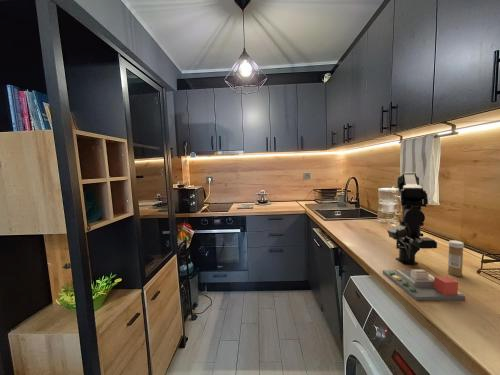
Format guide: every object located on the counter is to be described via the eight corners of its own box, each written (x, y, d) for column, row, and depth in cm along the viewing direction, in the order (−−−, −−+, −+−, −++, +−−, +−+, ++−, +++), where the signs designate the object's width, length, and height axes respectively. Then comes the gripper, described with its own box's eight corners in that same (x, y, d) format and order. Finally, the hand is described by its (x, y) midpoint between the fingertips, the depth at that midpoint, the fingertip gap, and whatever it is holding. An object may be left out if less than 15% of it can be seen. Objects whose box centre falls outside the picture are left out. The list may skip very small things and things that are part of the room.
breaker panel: (382, 273, 97) (382, 265, 97) (421, 272, 97) (421, 264, 96) (416, 300, 77) (416, 291, 77) (464, 299, 77) (465, 290, 76)
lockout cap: (433, 288, 82) (434, 276, 81) (446, 287, 82) (447, 276, 81) (444, 295, 77) (444, 282, 77) (457, 294, 77) (458, 282, 77)
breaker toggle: (410, 279, 88) (410, 269, 88) (422, 279, 88) (422, 269, 88) (416, 283, 85) (416, 272, 85) (428, 283, 85) (428, 272, 85)
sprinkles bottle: (464, 275, 93) (466, 242, 92) (458, 277, 91) (460, 244, 90) (451, 270, 97) (452, 239, 96) (444, 272, 95) (446, 241, 94)
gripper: (377, 214, 99) (377, 250, 100) (406, 226, 80) (405, 269, 82) (404, 214, 99) (403, 249, 100) (439, 225, 80) (437, 268, 82)
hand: (410, 258), depth 91 cm, fingers closed
